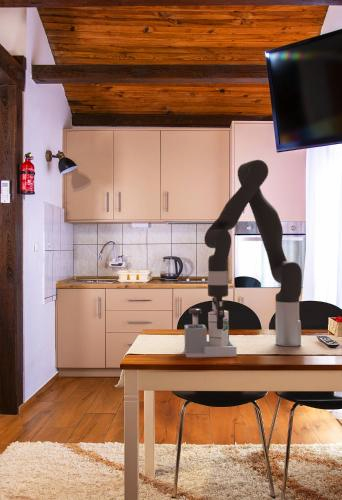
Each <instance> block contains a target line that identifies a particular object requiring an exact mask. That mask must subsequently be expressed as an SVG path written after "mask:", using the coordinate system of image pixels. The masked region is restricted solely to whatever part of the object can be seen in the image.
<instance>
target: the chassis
mask: <svg viewBox="0 0 342 500" xmlns="http://www.w3.org/2000/svg"><path fill="white" fill-rule="evenodd" d="M207 330H208V329H207V327H206V325H205V324H198V328H193V324H184V349H183V350H184V354H185V357H186V358H216V357H217V358H220V357H221V358H223V357H224V358H225V357H228V358H229V357H234V358H235V357H237V348H238V347H237V346H236V344H235V343H234V342H233V341H232V340H229V346H214V347H209V340H208V339H207V338H208V336H207Z"/></svg>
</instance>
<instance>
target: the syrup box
mask: <svg viewBox="0 0 342 500" xmlns="http://www.w3.org/2000/svg"><path fill="white" fill-rule="evenodd" d="M207 314H208V316H207V317H208V318H207V319H208V321H207V322H208V341H209V347H214V346H229V341H230V325H229V323H230V322H229V319H230V317H229V310H225V309H224V315H225V317H224V319H223V329H217V318H216V314H215V311H212V310H211V311H209V312H207ZM219 314H222V313H219Z"/></svg>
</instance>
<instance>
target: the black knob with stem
mask: <svg viewBox="0 0 342 500" xmlns="http://www.w3.org/2000/svg"><path fill="white" fill-rule="evenodd" d="M188 312H189V313H188V314H191V315H192V325H193V328H198V325H199V315H200V314H202V309H201V308H197V307H196V308H189V311H188Z"/></svg>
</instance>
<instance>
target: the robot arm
mask: <svg viewBox="0 0 342 500" xmlns="http://www.w3.org/2000/svg"><path fill="white" fill-rule="evenodd" d="M268 176H269V167H268V164H267V163H266V161H265V160H262V159H258V158H257V159H253V160H250V161H247V162H244V163H242V164H240V165H239V167H238V169H237V179H238V181H239V182H238V183H239V184H240V187H239V188H238V189H237V191H236V192H235V193H234V194H233V195H232V196H231V198H230V199H229V200H227V202H226V204H225V205H224V206H223V208H222V210H221V213H220V214H219V216H218V217H217V219H216V220H214V222H213V223H212V224H211V225H210V226H209V228H207V230H206V232H205V234H204V237H203V238H204V241H203V242H204V244H205V245H206V247H208V248H209V249H214V253H213V254H211V255H210V256H209V257H208V260H207V261H208V262H207V264H208V266H207V267H208V270H207V296H208V297H210V298H211V297H212V298H211V300H212V302H211V304H212V308H211V309H212V310H211V311H215V314H216V318H217V329H223V319H224V317H225V315H224V310H225V301H224V300H223V298H225V297H228V296H229V275H228V259H229V255H230V251H231V246H232V236H231V233H230V232H229V231H230V230H232V229H234V228H235V227H236V226H237V224H238V222H239V219H240V218H241V216H242V215H243V212H244V210H245V209H246V207H247V205H248V204H249V206H250V207H249V208H250V209H251V212H252V214H253V218H254V220H255V224H256V227H257V229H258V230H257V231H258V233H259V235H260V238H261V241H262V244H263V247H264V250H265V252H266V256H267V259H268V264H269V269H270V273H271V275H272V278H273V280H274V281H275V282H277V283H279V284H280V290H279V292H277V293H276V294H275V298H274V299H275V344H276V345H278V346H282V347H283V346H284V347H297V346H302V321H301V320H300V297H301V295H302V284H303V282H302V281H303V279H302V278H303V272H302V268H301V267H300V264H299V263H297V262H295V261H289V260H288V259H287V257H286V255H285V253H284V249H283V236H284V235H283V232H284V231H283V225H282V221H281V219H280V216H279V212H278V211H277V210H276V208H275V207H274V206H273V205H272V204H271V203H270V201H268V199H267V198H266V197H265V195H263V192H262V190H261V186H262V185H263V184H264V182H265V181H266V180H267V178H268ZM219 313H222V314H219Z"/></svg>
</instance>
